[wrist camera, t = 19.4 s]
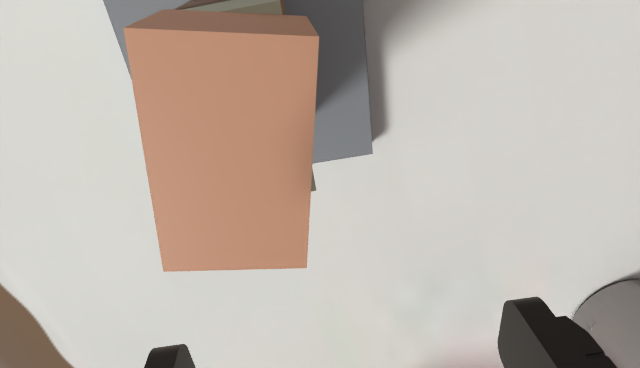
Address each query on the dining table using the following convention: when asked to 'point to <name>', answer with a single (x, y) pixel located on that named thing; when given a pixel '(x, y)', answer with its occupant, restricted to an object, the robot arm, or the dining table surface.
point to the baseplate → (332, 73)
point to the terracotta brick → (227, 135)
